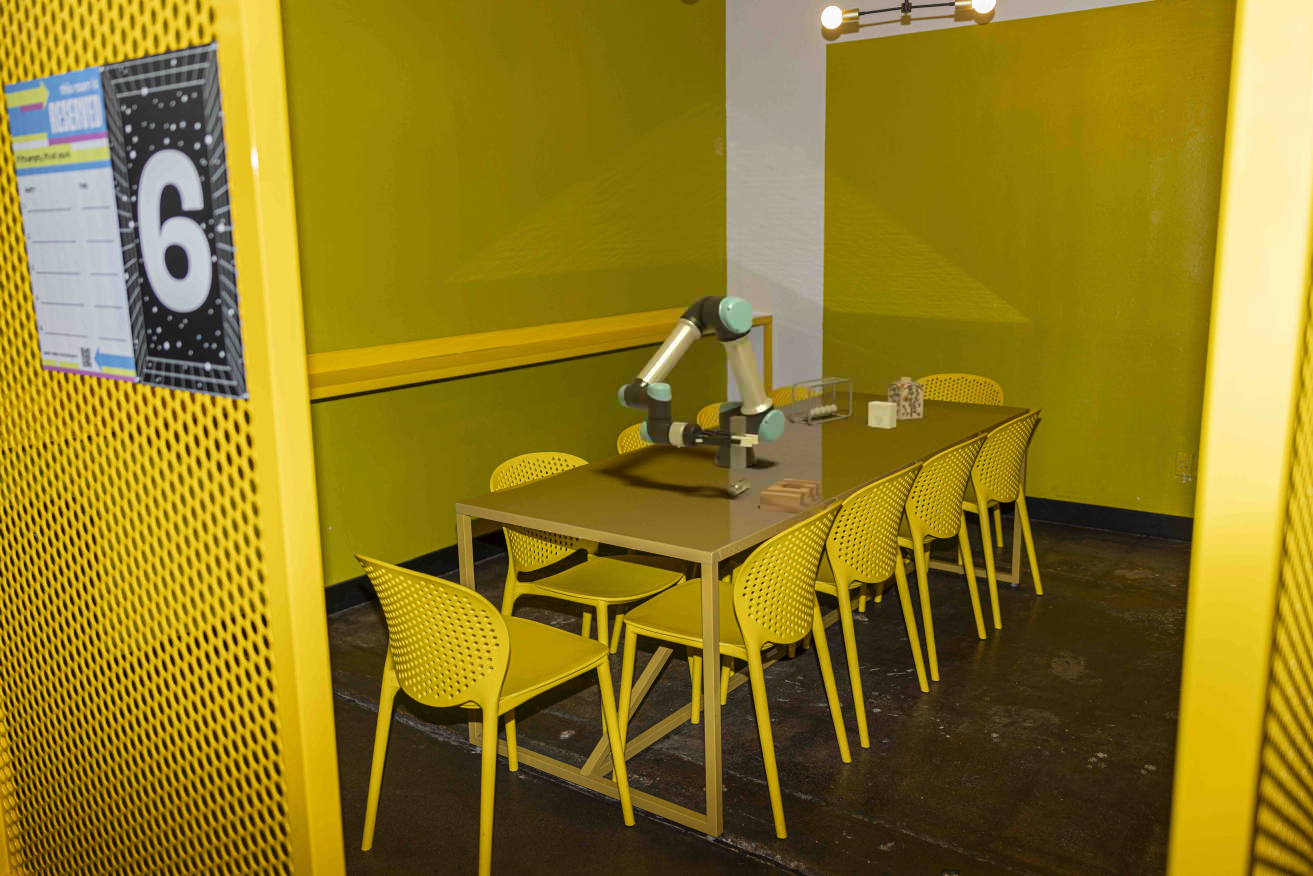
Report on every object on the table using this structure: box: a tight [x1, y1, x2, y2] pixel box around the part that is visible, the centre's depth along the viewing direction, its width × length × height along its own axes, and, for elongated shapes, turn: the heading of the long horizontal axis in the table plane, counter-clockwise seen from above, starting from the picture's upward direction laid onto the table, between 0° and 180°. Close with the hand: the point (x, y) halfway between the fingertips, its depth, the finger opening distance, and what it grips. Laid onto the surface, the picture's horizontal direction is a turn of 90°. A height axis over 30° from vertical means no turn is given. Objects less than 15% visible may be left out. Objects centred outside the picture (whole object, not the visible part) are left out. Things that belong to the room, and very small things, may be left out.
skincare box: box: [867, 400, 898, 430], centre depth 418 cm, size 10×6×10 cm, turn 49°
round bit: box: [727, 477, 752, 496], centre depth 317 cm, size 10×4×4 cm
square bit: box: [730, 416, 747, 471], centre depth 301 cm, size 4×4×16 cm
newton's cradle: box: [791, 376, 853, 426], centre depth 435 cm, size 30×10×18 cm, turn 132°
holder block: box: [759, 477, 822, 514], centre depth 302 cm, size 20×12×5 cm, turn 151°
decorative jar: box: [887, 376, 925, 421], centre depth 437 cm, size 12×12×18 cm
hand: (754, 441), depth 298 cm, fingers closed on square bit, 4 cm apart
